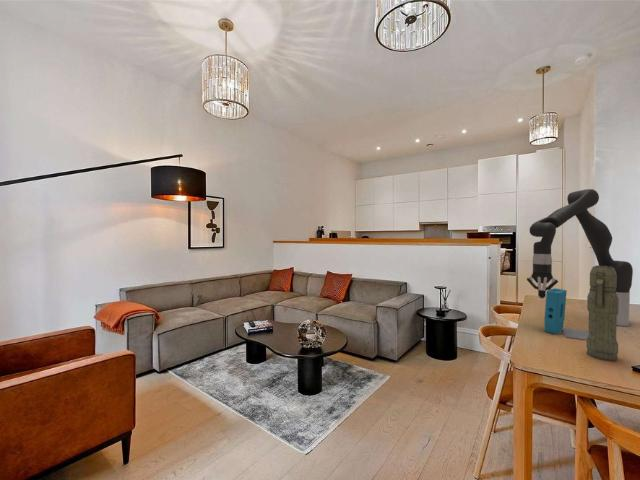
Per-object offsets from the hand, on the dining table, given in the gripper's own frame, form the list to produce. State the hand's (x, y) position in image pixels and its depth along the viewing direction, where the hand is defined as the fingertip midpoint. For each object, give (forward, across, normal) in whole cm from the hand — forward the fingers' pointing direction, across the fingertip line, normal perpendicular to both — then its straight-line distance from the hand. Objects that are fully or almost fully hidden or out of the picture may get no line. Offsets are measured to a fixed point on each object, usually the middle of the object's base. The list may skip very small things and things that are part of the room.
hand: (541, 297), depth 146 cm
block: (+16, -5, 0) cm, 17 cm away
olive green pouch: (+16, -17, +27) cm, 36 cm away
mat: (+16, -16, 0) cm, 23 cm away
